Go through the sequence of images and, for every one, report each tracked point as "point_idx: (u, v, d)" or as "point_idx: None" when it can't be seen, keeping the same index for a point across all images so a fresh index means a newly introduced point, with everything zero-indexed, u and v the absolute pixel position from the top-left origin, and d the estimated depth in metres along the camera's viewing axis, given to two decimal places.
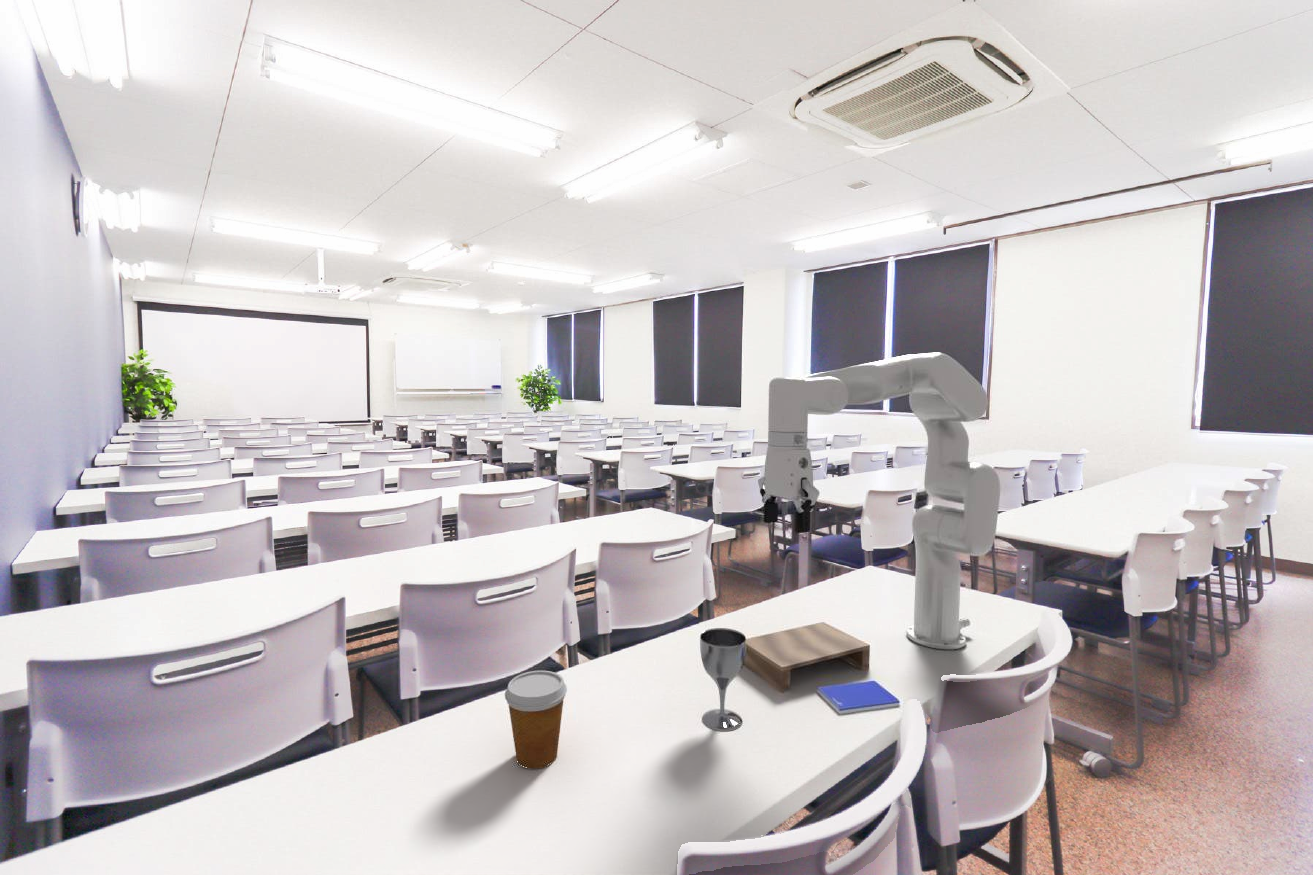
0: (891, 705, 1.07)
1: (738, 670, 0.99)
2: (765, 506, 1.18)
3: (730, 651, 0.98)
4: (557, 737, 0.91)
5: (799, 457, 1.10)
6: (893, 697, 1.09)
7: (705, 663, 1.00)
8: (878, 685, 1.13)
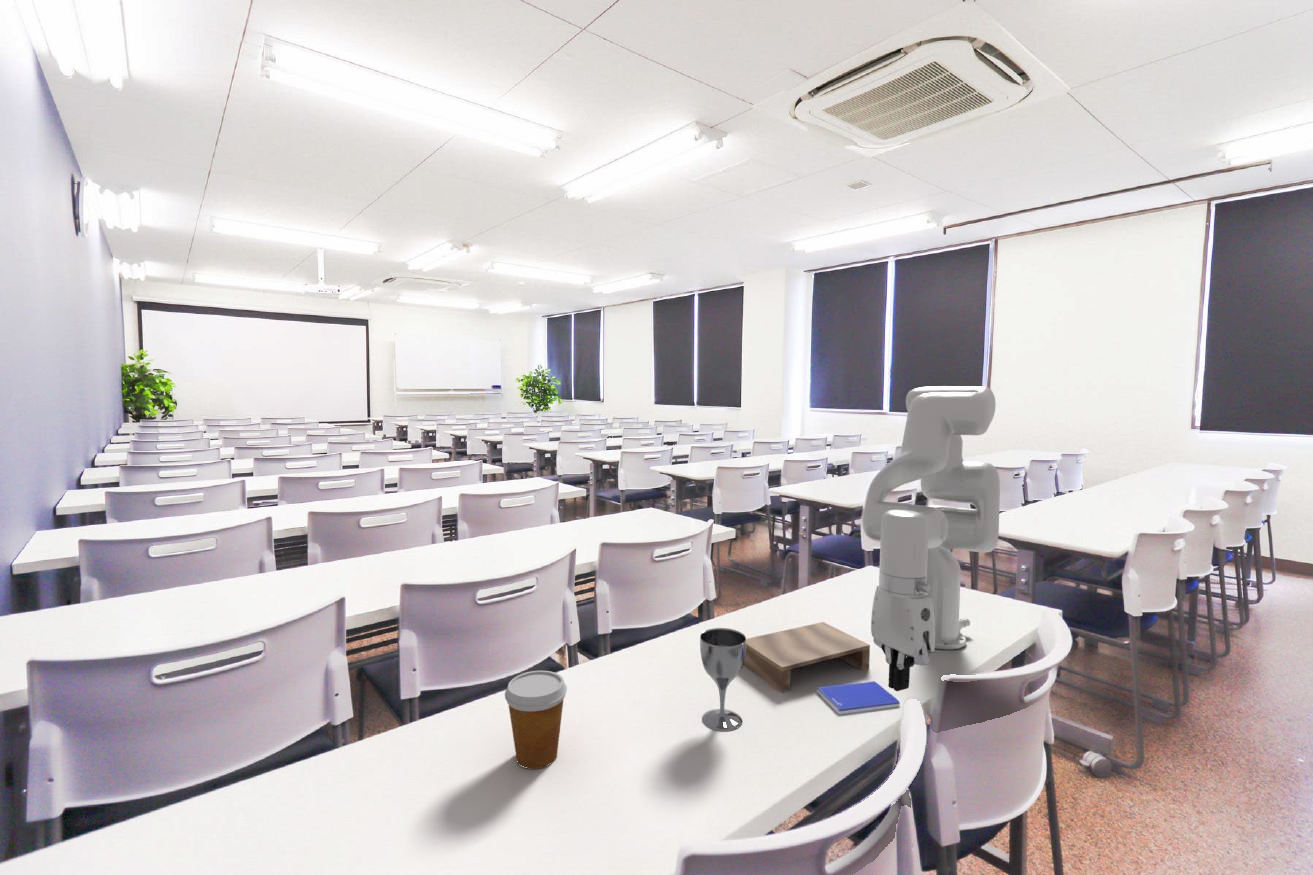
0: (891, 706, 1.07)
1: (738, 670, 0.99)
2: (891, 669, 1.00)
3: (730, 651, 0.98)
4: (557, 737, 0.91)
5: (921, 608, 0.96)
6: (893, 698, 1.08)
7: (705, 663, 1.00)
8: (878, 685, 1.13)
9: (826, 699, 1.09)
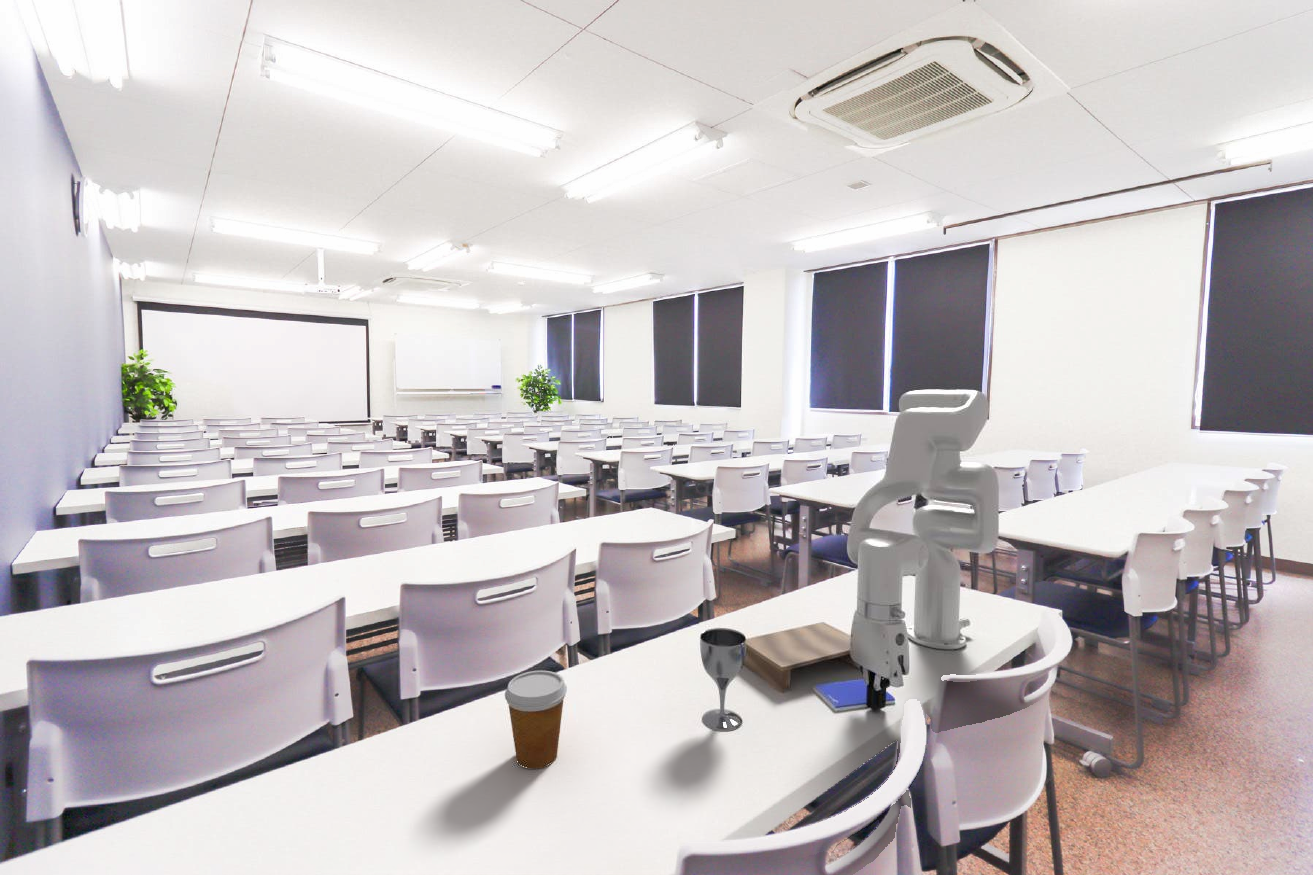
0: (886, 703, 1.08)
1: (738, 670, 0.99)
2: (869, 689, 1.05)
3: (730, 651, 0.98)
4: (557, 737, 0.91)
5: (895, 633, 1.01)
6: (888, 695, 1.10)
7: (705, 663, 1.00)
8: None
9: (822, 696, 1.10)
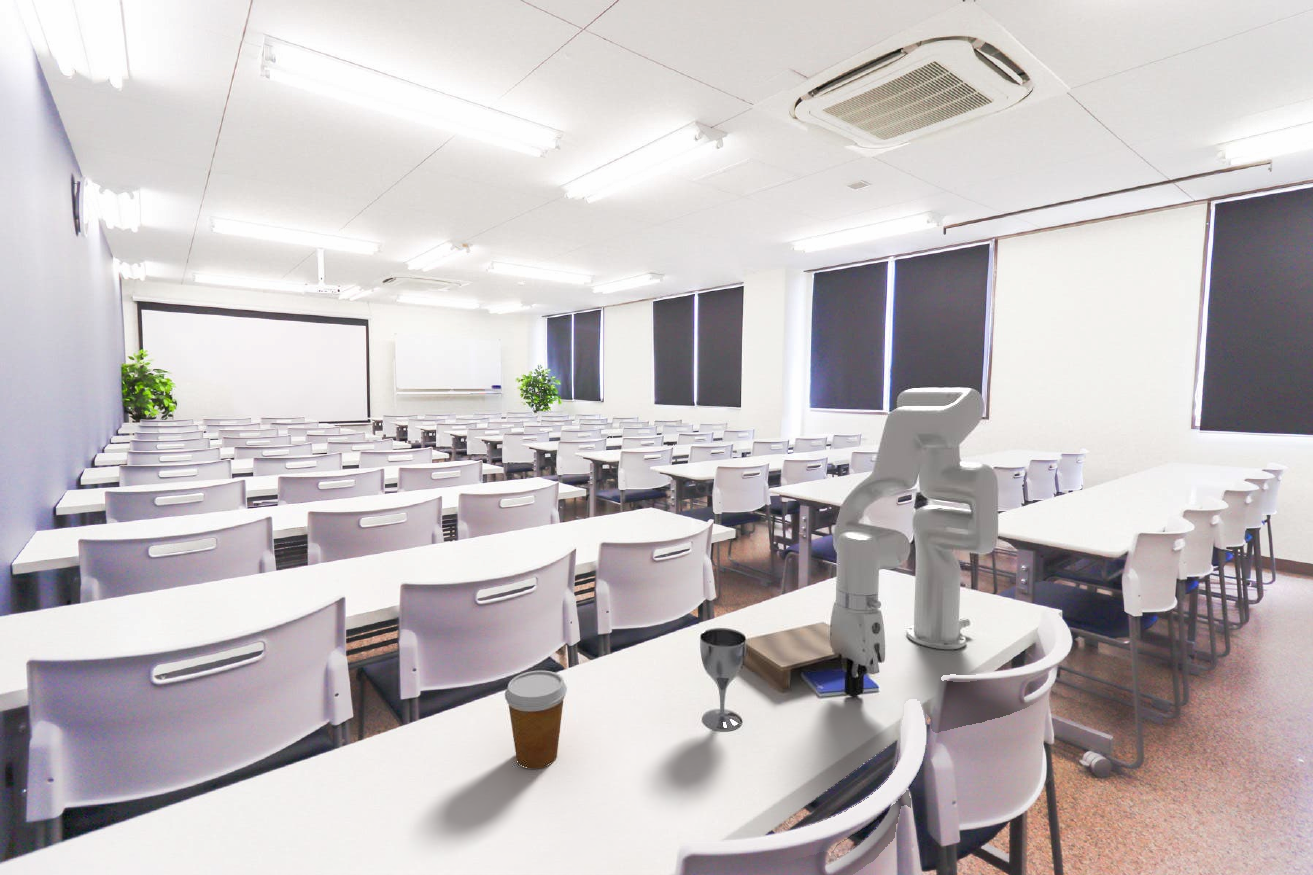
0: (870, 690, 1.13)
1: (738, 670, 0.99)
2: (847, 676, 1.10)
3: (730, 651, 0.98)
4: (557, 737, 0.91)
5: (872, 622, 1.05)
6: (873, 683, 1.14)
7: (705, 663, 1.00)
8: None
9: (809, 683, 1.15)
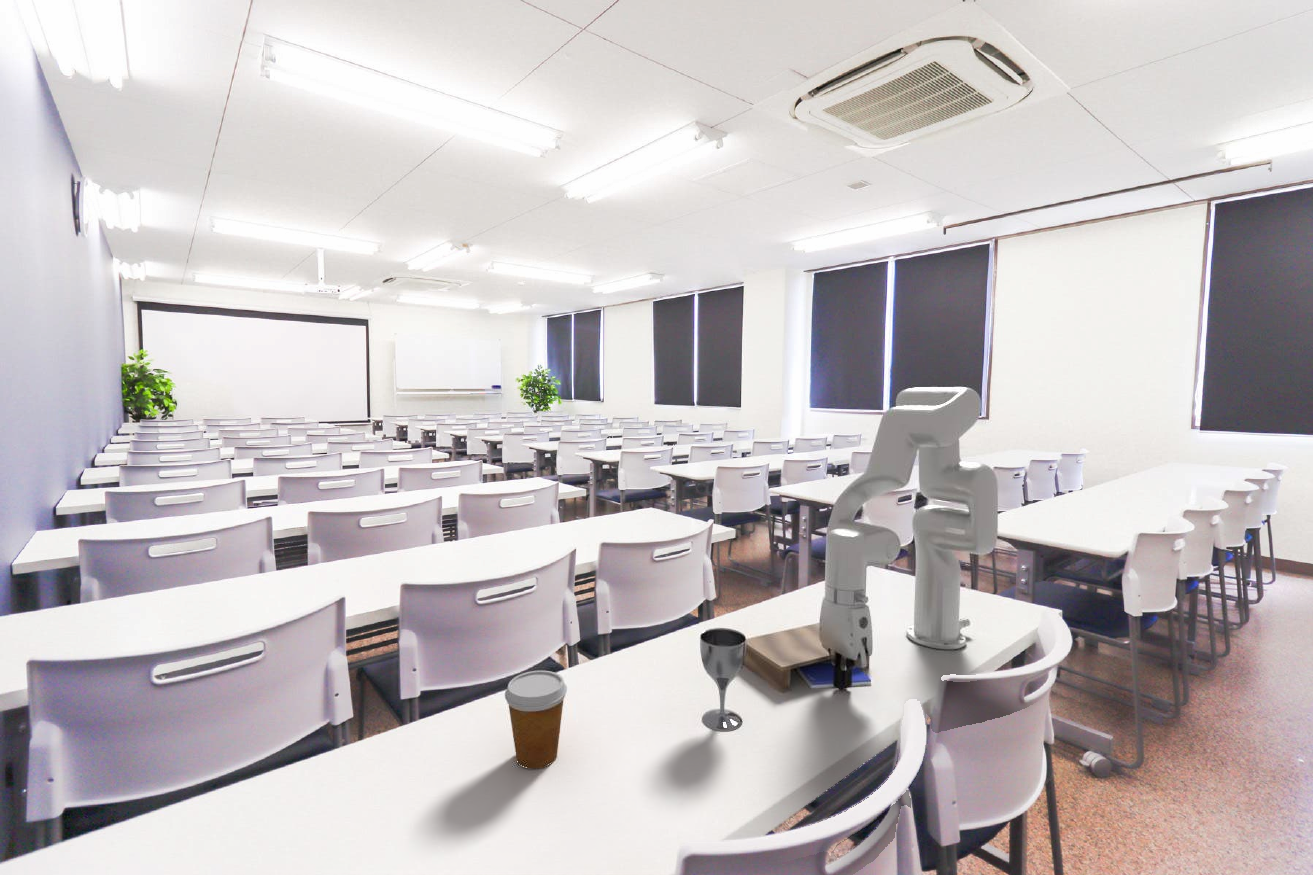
0: (862, 683, 1.15)
1: (738, 670, 0.99)
2: (835, 670, 1.13)
3: (730, 651, 0.98)
4: (557, 737, 0.91)
5: (859, 617, 1.08)
6: (865, 676, 1.17)
7: (705, 663, 1.00)
8: None
9: (802, 675, 1.18)
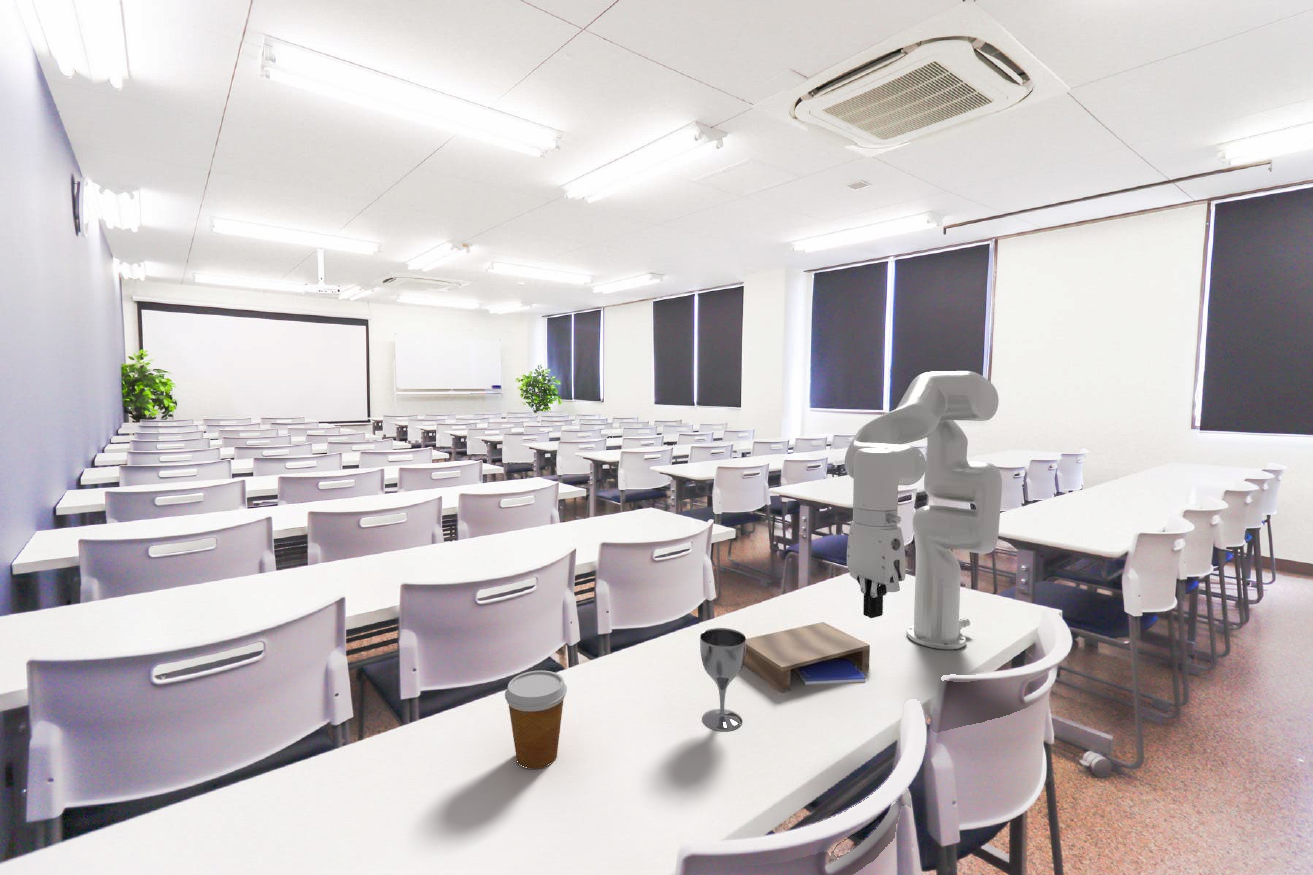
0: (857, 681, 1.17)
1: (738, 670, 0.99)
2: (865, 598, 1.06)
3: (730, 651, 0.98)
4: (557, 737, 0.91)
5: (891, 538, 1.01)
6: (860, 674, 1.18)
7: (705, 663, 1.00)
8: (851, 663, 1.23)
9: (797, 671, 1.20)
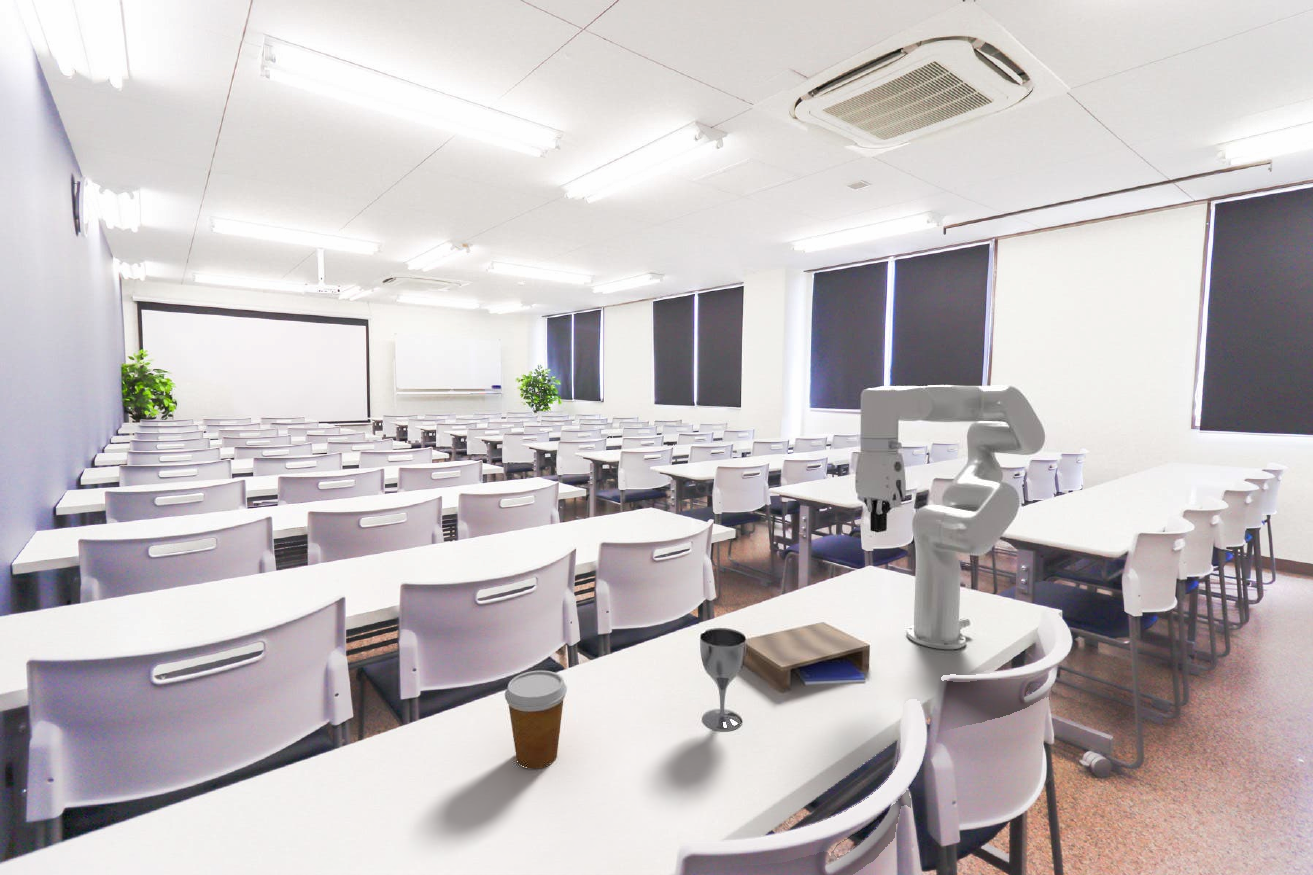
0: (857, 681, 1.16)
1: (738, 670, 0.99)
2: (872, 515, 1.25)
3: (730, 651, 0.98)
4: (557, 737, 0.91)
5: (894, 461, 1.20)
6: (860, 674, 1.18)
7: (705, 663, 1.00)
8: (851, 663, 1.22)
9: (797, 671, 1.20)
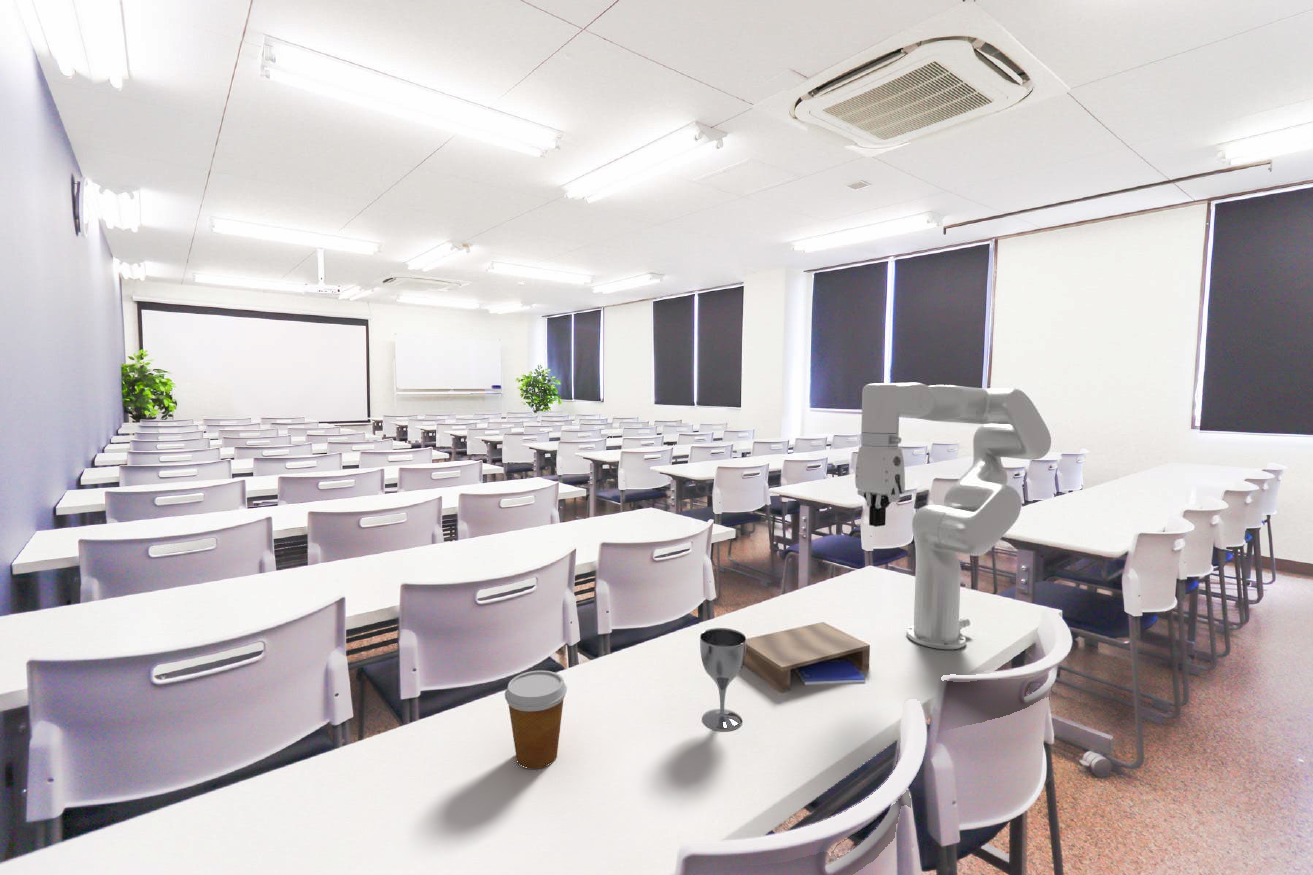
0: (856, 681, 1.16)
1: (738, 670, 0.99)
2: (871, 510, 1.26)
3: (730, 651, 0.98)
4: (557, 737, 0.91)
5: (893, 456, 1.21)
6: (860, 674, 1.18)
7: (705, 663, 1.00)
8: (851, 664, 1.22)
9: (797, 672, 1.20)
